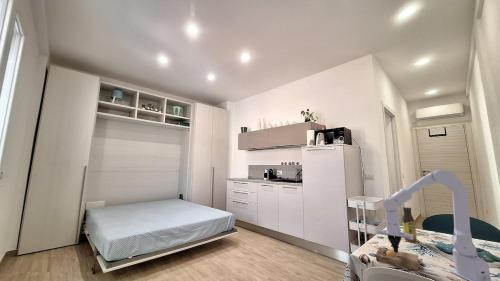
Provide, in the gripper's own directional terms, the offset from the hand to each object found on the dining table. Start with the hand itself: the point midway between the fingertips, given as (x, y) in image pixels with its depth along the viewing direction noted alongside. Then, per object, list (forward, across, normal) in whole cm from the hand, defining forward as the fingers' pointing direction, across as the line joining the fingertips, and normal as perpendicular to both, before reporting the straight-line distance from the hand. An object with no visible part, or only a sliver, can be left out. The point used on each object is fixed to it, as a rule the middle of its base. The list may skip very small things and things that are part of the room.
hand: (396, 252), depth 99 cm
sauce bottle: (+4, -4, -37) cm, 37 cm away
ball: (+2, +2, 0) cm, 3 cm away
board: (+4, 0, 0) cm, 4 cm away
